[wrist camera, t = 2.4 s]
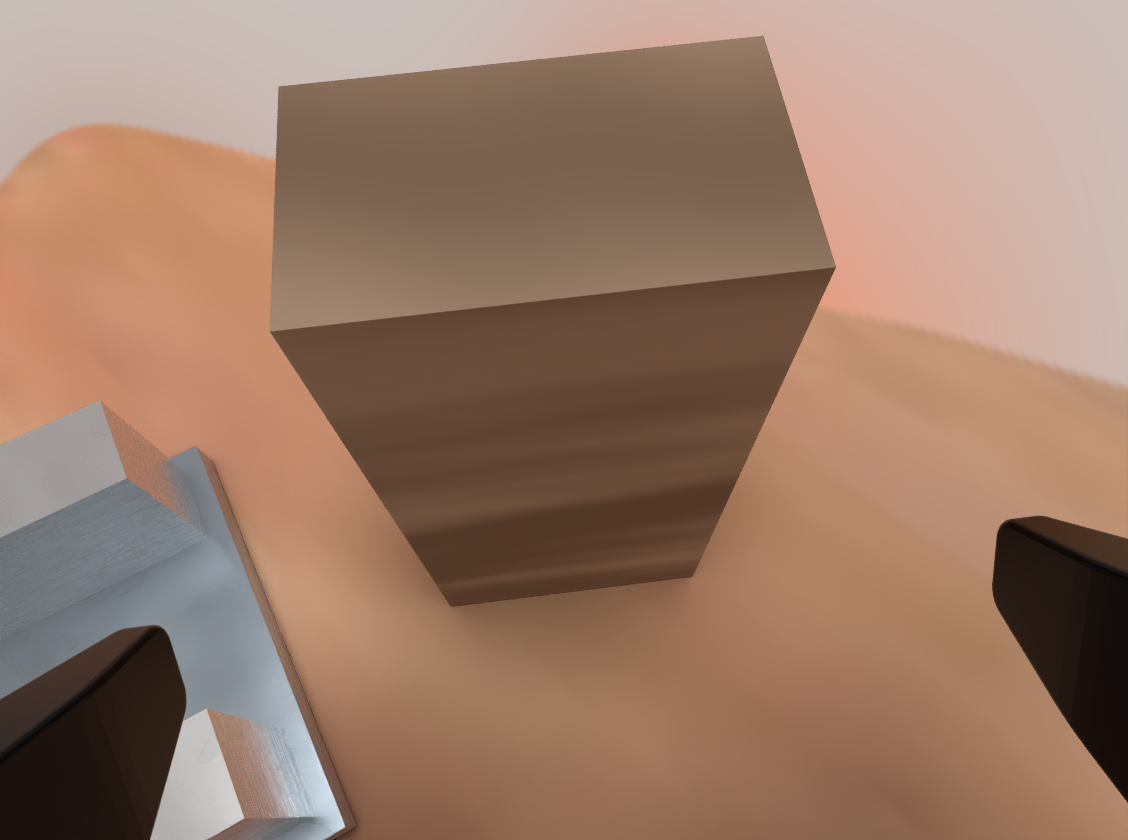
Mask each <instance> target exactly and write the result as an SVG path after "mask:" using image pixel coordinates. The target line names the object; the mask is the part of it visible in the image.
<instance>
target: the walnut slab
mask: <svg viewBox="0 0 1128 840" xmlns="http://www.w3.org/2000/svg"><path fill="white" fill-rule="evenodd" d="M835 268H836V266H835V263H834V259H833V256H832V253H831V250H830V246H829V243H828V240H827V237H826V234H825V231H824V227H823V224H822V221H821V218H820V215H819V212H818V209H817V205H816V202H815V199H814V196H813V192H812V189H811V186H810V183H809V180H808V176H807V173H806V170H805V167H804V164H803V161H802V158H801V154H800V151H799V148H798V145H797V141H796V138H795V135H794V132H793V129H792V126H791V122H790V119H789V116H788V113H787V110H786V106H785V103H784V100H783V97H782V94H781V90H780V87H779V84H778V81H777V78H776V75H775V71H774V68H773V65H772V62H771V59H770V55H769V52H768V49H767V46H766V43H765V39H764V36H758V37H749V38H740V39H730V40H721V41H711V42H702V43H692V44H683V45H673V46H663V47H653V48H643V49H634V50H624V51H616V52H606V53H596V54H587V55H577V56H568V57H558V58H548V59H538V60H529V61H519V62H510V63H500V64H491V65H481V66H472V67H462V68H452V69H443V70H434V71H424V72H414V73H404V74H395V75H386V76H376V77H366V78H357V79H348V80H338V81H328V82H319V83H310V84H300V85H290V86H281V87H279V91H278V119H277V148H276V174H275V202H274V230H273V258H272V286H271V313H270V332H271V334H272V336H273V337H274V339H275V340H276V342H277V343H278V345H279V346H280V348H281V349H282V351H283V352H284V354H285V355H286V357H287V358H288V360H289V361H290V363H291V364H292V366H293V367H294V369H295V370H296V372H297V373H298V375H299V377H300V378H301V380H302V381H303V383H304V384H305V386H306V387H307V389H308V390H309V392H310V393H311V395H312V396H313V398H314V399H315V401H316V402H317V404H318V405H319V407H320V408H321V410H322V411H323V413H324V414H325V416H326V418H327V419H328V421H329V422H330V424H331V425H332V427H333V428H334V430H335V431H336V433H337V434H338V436H339V437H340V439H341V440H342V442H343V443H344V445H345V446H346V448H347V449H348V451H349V452H350V454H351V455H352V457H353V459H354V460H355V462H356V463H357V465H358V466H359V468H360V469H361V471H362V472H363V474H364V475H365V477H366V478H367V480H368V481H369V483H370V484H371V486H372V487H373V489H374V490H375V492H376V493H377V495H378V496H379V498H380V500H381V501H382V503H383V504H384V506H385V507H386V509H387V510H388V512H389V513H390V515H391V516H392V518H393V519H394V521H395V522H396V524H397V525H398V527H399V528H400V530H401V531H402V533H403V534H404V536H405V537H406V539H407V541H408V542H409V544H410V545H411V547H412V548H413V550H414V551H415V553H416V554H417V556H418V557H419V559H420V560H421V562H422V563H423V565H424V566H425V568H426V569H427V571H428V572H429V574H430V575H431V577H432V578H433V580H434V582H435V583H436V585H437V586H438V588H439V589H440V591H441V592H442V594H443V595H444V597H445V598H446V600H447V601H448V603H449V604H450V606H451V607H452V606H460V605H468V604H476V603H484V602H493V601H501V600H509V599H517V598H525V597H533V596H541V595H549V594H557V593H565V592H573V591H581V590H589V589H597V588H605V587H613V586H621V585H629V584H637V583H645V582H653V581H661V580H669V579H677V578H685V577H692V576H693V574H694V572H695V570H696V568H697V565H698V563H699V561H700V559H701V557H702V555H703V552H704V550H705V548H706V546H707V544H708V542H709V540H710V537H711V535H712V533H713V531H714V529H715V527H716V524H717V522H718V520H719V518H720V516H721V514H722V512H723V509H724V507H725V505H726V503H727V501H728V499H729V497H730V494H731V492H732V490H733V488H734V486H735V484H736V481H737V479H738V477H739V475H740V473H741V471H742V469H743V466H744V464H745V462H746V460H747V458H748V456H749V453H750V451H751V449H752V447H753V445H754V443H755V441H756V438H757V436H758V434H759V432H760V430H761V428H762V425H763V423H764V421H765V419H766V417H767V415H768V413H769V410H770V408H771V406H772V404H773V402H774V400H775V397H776V395H777V393H778V391H779V389H780V387H781V385H782V382H783V380H784V378H785V376H786V374H787V372H788V369H789V367H790V365H791V363H792V361H793V359H794V357H795V354H796V352H797V350H798V348H799V346H800V344H801V342H802V339H803V337H804V335H805V333H806V331H807V329H808V326H809V324H810V322H811V320H812V318H813V316H814V314H815V311H816V309H817V307H818V305H819V303H820V301H821V298H822V296H823V294H824V292H825V290H826V287H827V285H828V283H829V281H830V279H831V277H832V275H833V272H834V270H835Z"/></svg>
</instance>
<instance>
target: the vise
mask: <svg viewBox="0 0 1128 840" xmlns="http://www.w3.org/2000/svg"><path fill="white" fill-rule="evenodd" d="M147 625H159V626H161V627H162V628H164V629H165V630H166V632H167V633H168V635H169V638H170V640H171V644H172V647H173V650H174V653H175V656H176V660H177V663H178V666H179V669H180V672H181V676H182V679H183V682H184V685H185V689H186V696H187V704H186V712H185V716H184V720H183V723H182V727H181V731H180V734H179V738H178V742H177V745H176V749H175V753H174V756H173V760H172V764H171V767H170V771H169V774H168V778H167V782H166V785H165V789H164V793H163V796H162V800H161V804H160V807H159V811H158V815H157V818H156V822H155V825H154V829H153V832H152V835H151V838H150V840H334V839H336V838H337V837H339V836H341V835H342V834H344V833H346V832H348V831H349V830H351V829H353V828H355V827H356V826H357V825H356V822H355V820H354V817H353V815H352V812H351V810H350V807H349V804H348V802H347V799H346V797H345V794H344V792H343V789H342V787H341V784H340V782H339V779H338V777H337V774H336V772H335V769H334V767H333V764H332V762H331V759H330V757H329V754H328V752H327V749H326V747H325V744H324V742H323V739H322V737H321V734H320V731H319V729H318V726H317V724H316V721H315V719H314V716H313V714H312V711H311V709H310V706H309V704H308V701H307V699H306V696H305V694H304V691H303V689H302V686H301V684H300V681H299V679H298V676H297V674H296V671H295V669H294V666H293V664H292V661H291V659H290V656H289V653H288V651H287V648H286V646H285V643H284V641H283V638H282V636H281V633H280V631H279V628H278V626H277V623H276V621H275V618H274V616H273V613H272V611H271V608H270V606H269V603H268V601H267V598H266V596H265V593H264V591H263V588H262V586H261V583H260V580H259V578H258V575H257V573H256V570H255V568H254V565H253V563H252V560H251V558H250V555H249V553H248V550H247V548H246V545H245V543H244V540H243V538H242V535H241V533H240V530H239V528H238V525H237V523H236V520H235V518H234V515H233V513H232V510H231V508H230V505H229V502H228V500H227V497H226V495H225V492H224V490H223V487H222V485H221V482H220V480H219V477H218V475H217V472H216V470H215V467H214V465H213V462H212V460H211V459H209V458H208V457H207V456H206V455H205V454H204V453H203V452H202V451H201V450H200V449H199V448H198V447H197V446H195V447H193V448H191V449H189V450H186V451H184V452H182V453H180V454H178V455H176V456H174V457H172V458H168V457H166V456H165V455H164V454H163V453H162V452H161V451H159V450H158V449H157V448H156V447H155V446H153V445H152V444H151V443H150V442H149V441H148V440H146V439H145V438H144V437H143V436H142V435H140V434H139V433H138V432H137V431H136V430H135V429H133V428H132V427H131V426H130V425H129V424H127V423H126V422H125V421H124V420H123V419H122V418H120V417H119V416H118V415H117V414H116V413H114V412H113V411H112V410H111V409H110V408H108V407H107V406H106V405H105V404H104V403H103V402H101V401H100V400H99V401H97V402H95V403H92V404H90V405H88V406H86V407H84V408H81V409H79V410H77V411H75V412H72V413H70V414H68V415H66V416H64V417H61V418H59V419H57V420H55V421H52V422H50V423H48V424H46V425H44V426H41V427H39V428H37V429H35V430H32V431H30V432H28V433H26V434H23V435H21V436H19V437H17V438H15V439H12V440H10V441H8V442H6V443H3V444H1V445H0V699H1V698H3V697H5V696H6V695H8V694H10V693H12V692H13V691H15V690H17V689H18V688H20V687H22V686H24V685H25V684H27V683H29V682H30V681H32V680H34V679H35V678H37V677H39V676H41V675H42V674H44V673H46V672H47V671H49V670H51V669H53V668H54V667H56V666H58V665H59V664H61V663H63V662H65V661H66V660H68V659H70V658H71V657H73V656H75V655H77V654H78V653H80V652H82V651H83V650H85V649H87V648H89V647H90V646H92V645H94V644H95V643H97V642H99V641H101V640H102V639H104V638H106V637H107V636H109V635H111V634H112V633H114V632H116V631H118V630H120V629H124V628H131V627H139V626H147Z"/></svg>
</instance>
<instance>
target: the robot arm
mask: <svg viewBox="0 0 1128 840" xmlns="http://www.w3.org/2000/svg"><path fill="white" fill-rule="evenodd" d="M992 590H993V597H994V601H995V604H996V606H997V608H998V610H999V612H1000V614H1001V615H1002V617H1003V619H1004V620H1005V622H1006V624H1007V625H1008V627H1009V629H1010V630H1011V632H1012V633H1013V635H1014V637H1015V638H1016V640H1017V642H1018V643H1019V645H1020V647H1021V648H1022V650H1023V651H1024V653H1025V655H1026V656H1027V658H1028V660H1029V661H1030V663H1031V664H1032V666H1033V668H1034V669H1035V671H1036V673H1037V674H1038V676H1039V678H1040V679H1041V681H1042V682H1043V684H1044V686H1045V687H1046V689H1047V691H1048V692H1049V694H1050V696H1051V697H1052V699H1053V700H1054V702H1055V704H1056V705H1057V707H1058V708H1059V710H1060V711H1061V713H1062V715H1063V716H1064V718H1065V719H1066V721H1067V722H1068V724H1069V725H1070V727H1071V728H1072V729H1073V731H1074V732H1075V734H1076V735H1077V736H1078V738H1079V739H1080V740H1081V742H1082V743H1083V745H1084V746H1085V747H1086V749H1087V750H1088V751H1089V753H1090V754H1091V755H1092V757H1093V758H1094V759H1095V761H1096V762H1097V763H1098V764H1099V766H1100V767H1101V768H1102V770H1103V771H1104V772H1105V774H1106V775H1107V776H1108V778H1109V779H1110V780H1111V782H1112V783H1113V784H1114V785H1115V787H1116V788H1117V789H1118V791H1119V792H1120V793H1121V795H1122V796H1123V797H1124V799H1125V800H1126V801H1127V803H1128V539H1127V538H1123V537H1120V536H1116V535H1112V534H1108V533H1105V532H1101V531H1097V530H1094V529H1090V528H1086V527H1083V526H1079V525H1075V524H1072V523H1068V522H1064V521H1060V520H1057V519H1053V518H1049V517H1045V516H1031V517H1023V518H1015V519H1009V520H1006V521H1005V522H1003V523H1002V524H1001V525H1000V527H999V529H998V533H997V539H996V550H995V561H994V571H993V582H992ZM186 704H187V696H186V689H185V685H184V682H183V679H182V676H181V672H180V669H179V666H178V663H177V660H176V656H175V653H174V650H173V647H172V644H171V640H170V638H169V635H168V633H167V632H166V630H165V629H164V628H162V627H161V626H159V625H147V626H139V627H131V628H124V629H120V630H118V631H116V632H114V633H112V634H111V635H109V636H107V637H106V638H104V639H102V640H101V641H99V642H97V643H95V644H94V645H92V646H90V647H89V648H87V649H85V650H83V651H82V652H80V653H78V654H77V655H75V656H73V657H71V658H70V659H68V660H66V661H65V662H63V663H61V664H59V665H58V666H56V667H54V668H53V669H51V670H49V671H47V672H46V673H44V674H42V675H41V676H39V677H37V678H35V679H34V680H32V681H30V682H29V683H27V684H25V685H24V686H22V687H20V688H18V689H17V690H15V691H13V692H12V693H10V694H8V695H6V696H5V697H3V698H1V699H0V840H150V838H151V835H152V832H153V829H154V825H155V822H156V818H157V815H158V811H159V807H160V804H161V800H162V796H163V793H164V789H165V785H166V782H167V778H168V774H169V771H170V767H171V764H172V760H173V756H174V753H175V749H176V745H177V742H178V738H179V734H180V731H181V727H182V723H183V720H184V716H185V712H186Z"/></svg>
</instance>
